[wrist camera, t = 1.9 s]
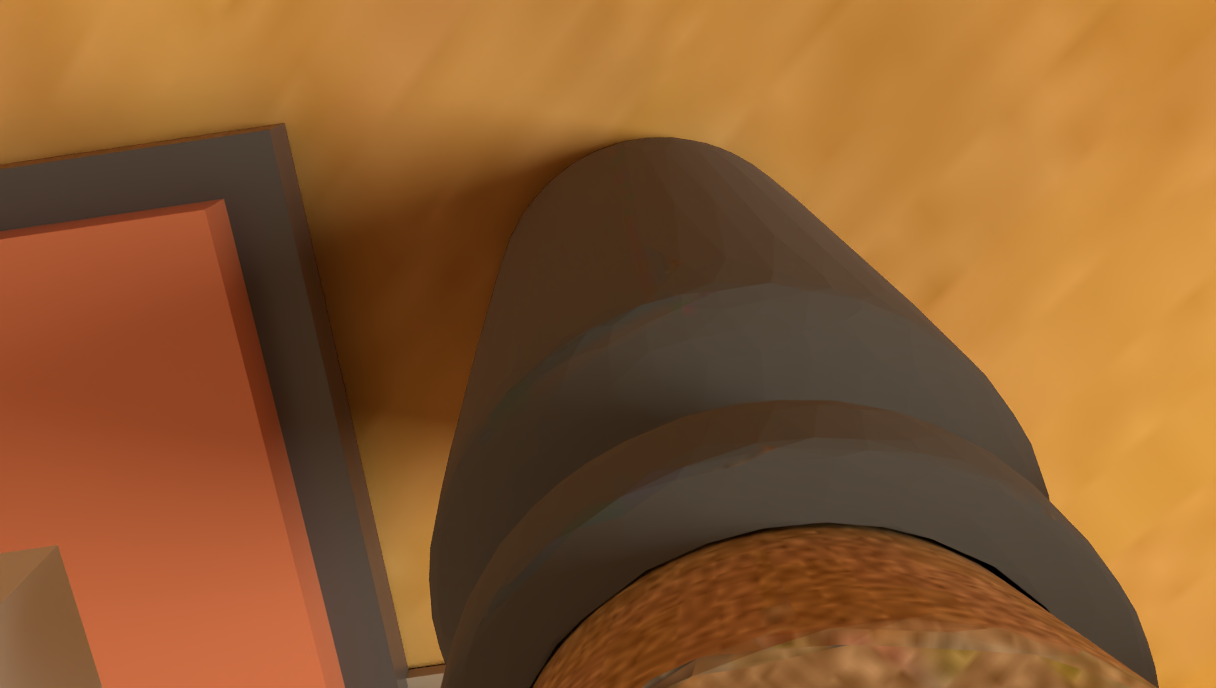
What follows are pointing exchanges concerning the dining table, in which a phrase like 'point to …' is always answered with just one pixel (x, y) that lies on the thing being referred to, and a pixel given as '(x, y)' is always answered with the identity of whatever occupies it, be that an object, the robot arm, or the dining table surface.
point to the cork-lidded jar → (743, 465)
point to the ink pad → (187, 419)
